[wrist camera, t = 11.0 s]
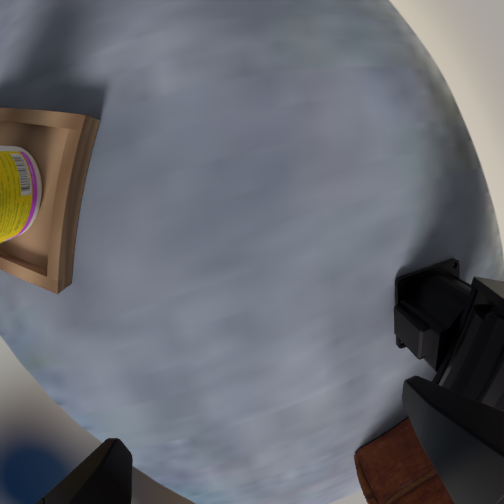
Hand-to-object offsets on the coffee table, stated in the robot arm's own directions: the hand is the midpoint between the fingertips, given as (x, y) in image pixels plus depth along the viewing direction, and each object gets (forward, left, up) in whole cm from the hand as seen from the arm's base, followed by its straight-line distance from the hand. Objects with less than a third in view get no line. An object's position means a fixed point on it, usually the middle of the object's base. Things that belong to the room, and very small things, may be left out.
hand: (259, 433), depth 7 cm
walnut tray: (+15, -11, -13) cm, 23 cm away
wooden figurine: (-12, +23, -13) cm, 30 cm away
